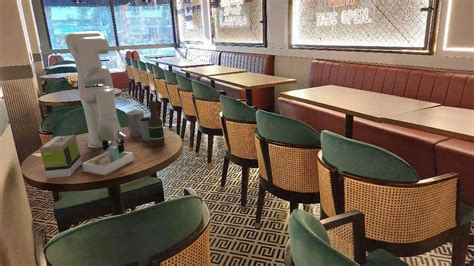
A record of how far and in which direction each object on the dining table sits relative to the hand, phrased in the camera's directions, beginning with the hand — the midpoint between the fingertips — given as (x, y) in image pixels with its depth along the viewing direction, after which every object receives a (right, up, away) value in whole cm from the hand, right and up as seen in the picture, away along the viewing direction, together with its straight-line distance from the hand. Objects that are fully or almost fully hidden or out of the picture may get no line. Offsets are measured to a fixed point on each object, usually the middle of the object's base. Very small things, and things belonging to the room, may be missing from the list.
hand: (114, 150), depth 157 cm
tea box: (-20, -9, -5) cm, 23 cm away
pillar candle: (-2, +8, +44) cm, 45 cm away
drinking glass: (+9, +5, +33) cm, 34 cm away
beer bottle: (+16, +2, +22) cm, 27 cm away
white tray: (-1, -7, -3) cm, 7 cm away
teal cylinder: (0, -5, +1) cm, 5 cm away
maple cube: (-3, -7, -7) cm, 10 cm away
